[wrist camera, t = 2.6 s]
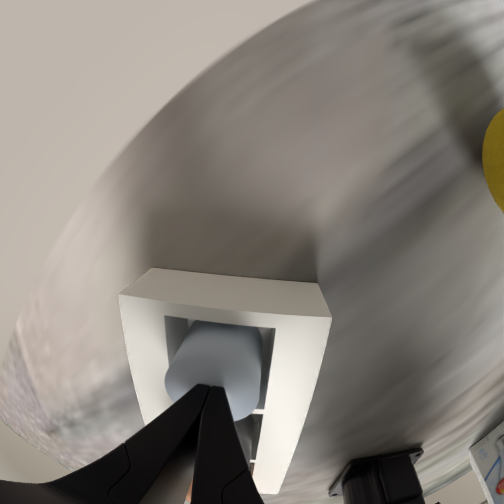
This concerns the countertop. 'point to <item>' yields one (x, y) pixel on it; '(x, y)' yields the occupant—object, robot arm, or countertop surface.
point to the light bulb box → (490, 464)
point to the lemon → (495, 158)
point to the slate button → (219, 364)
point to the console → (239, 313)
